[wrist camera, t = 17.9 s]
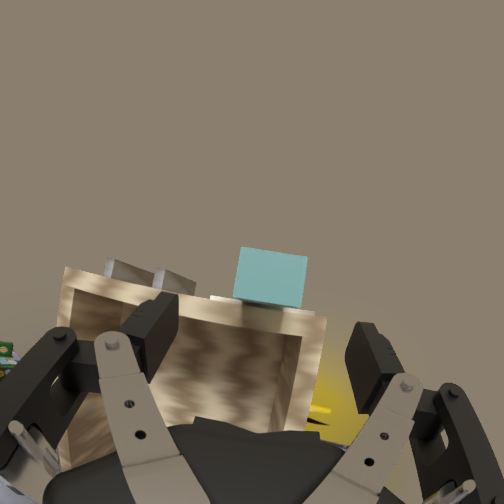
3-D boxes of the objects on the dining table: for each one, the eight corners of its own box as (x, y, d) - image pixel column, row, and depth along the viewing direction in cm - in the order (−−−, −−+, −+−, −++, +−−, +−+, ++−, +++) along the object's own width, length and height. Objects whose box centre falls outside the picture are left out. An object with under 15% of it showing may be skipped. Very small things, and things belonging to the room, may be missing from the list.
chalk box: (15, 395, 37) (14, 334, 39) (31, 415, 33) (29, 349, 36) (-18, 395, 28) (-21, 329, 31) (-5, 418, 25) (-11, 346, 28)
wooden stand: (64, 487, 20) (69, 249, 26) (105, 453, 34) (121, 267, 40) (265, 547, 18) (330, 296, 25) (263, 494, 32) (304, 300, 39)
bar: (232, 296, 16) (241, 246, 17) (246, 302, 38) (250, 281, 38) (300, 307, 16) (307, 257, 16) (275, 307, 37) (279, 285, 38)
